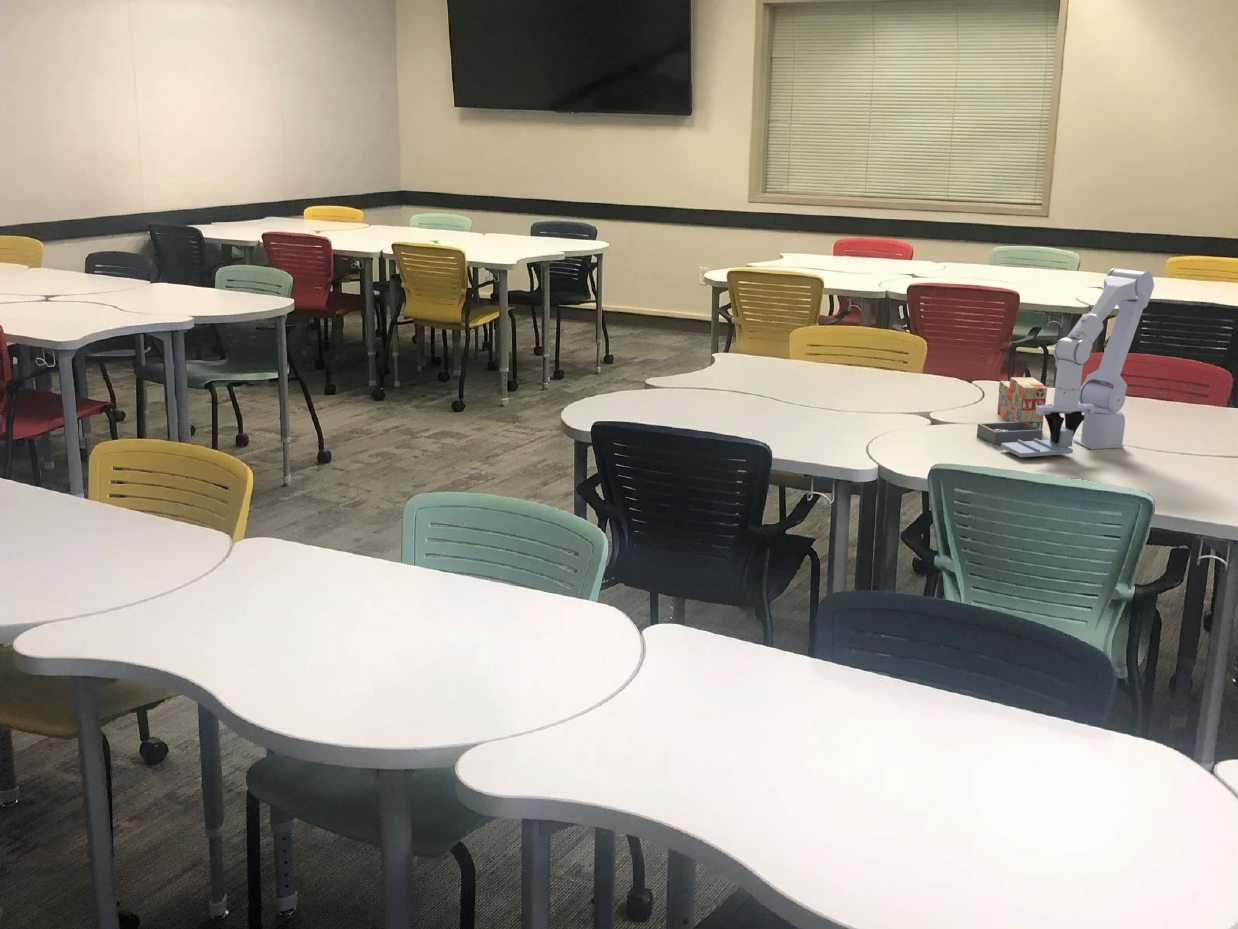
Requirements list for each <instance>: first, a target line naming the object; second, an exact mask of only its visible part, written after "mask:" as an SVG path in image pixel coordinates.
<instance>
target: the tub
mask: <svg viewBox="0 0 1238 929" xmlns="http://www.w3.org/2000/svg"><path fill="white" fill-rule="evenodd" d="M1043 431H1044V430H1043V429H1042V430H1041V429H1039V428H1037V427H1035V426H1033V425H1031V424H1028V423H1026V422H1007V421H1005V422H983V423H977V429H976V438H979V440H982V441H984V442H985V443H988V444H990V445H992V446H994V447H995V446H996V447H997V446H998V447H999V446H1000V447H1001V443H1011V442H1017V440H1021V441H1033V438H1036V439H1038V440H1043Z"/></svg>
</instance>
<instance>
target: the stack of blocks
mask: <svg viewBox="0 0 1238 929" xmlns="http://www.w3.org/2000/svg"><path fill="white" fill-rule="evenodd" d="M998 385H999V387H998V401H997V414H999V416H1000V417H1001V418H1002V419H1003V420H1004V421H1005V422H1026V423H1028V424H1031V425H1033V426H1035V427H1037V428H1039V429H1041V430H1043V427H1044V426H1043V425H1044V418H1045V416H1044V414H1043V415H1038V414H1036V406H1041V405H1047V404H1046V402H1047V393H1048V387H1047V386H1046V385H1044V384H1043V383H1042V382H1041V381H1039V380H1037V379H1036V378H1034V377H1016V376H1015V377H1013V376H1011V377H1010V379H1009V380H1008V381H1007V380H1006V381H1005V380H1000V381H999V384H998Z"/></svg>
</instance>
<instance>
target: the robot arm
mask: <svg viewBox="0 0 1238 929" xmlns="http://www.w3.org/2000/svg"><path fill="white" fill-rule="evenodd" d="M1154 288H1155V282H1154V278H1153V275H1152V273H1151V272H1150V271H1139V270H1132V269H1123V268H1119V267H1113V268H1111V269H1110V270H1109V271H1108V272H1107V273H1106V276H1105V277H1104V280H1103V291H1102V292H1101V295H1100V296H1099V298H1098V299H1097V300H1096V302H1095V304H1094V306H1093V307H1092V309H1091V311H1090V313H1086V314H1083V315H1082V316H1081V317H1080V318H1079V320H1078V321H1077V322H1076V324H1075V326H1074V327H1072V329H1071V331H1070V332H1069V333H1068V335H1067V336H1066V337H1063V338H1060V339H1059V340H1058V341H1057V343H1056V344H1055V347H1054V348H1053V357H1054V359H1055V364H1054V366H1055V368H1057V369H1056V378H1055V385H1054V393H1053V394H1054V395H1053V403H1049V404H1045V405H1041V406H1036V414H1038V415H1043V414H1044V418H1045V420H1046V423H1047V426H1048V429H1049V432H1050V434H1051V442H1053V443H1055V444H1058V441H1059V437H1060V430H1061V426H1063V423H1064V427H1066V428H1069V429H1071V430H1073V442H1074V443H1077V444H1079V445H1080V446H1084V447H1086V448H1087V449H1090V450H1097V449H1099V450H1100V449H1115V448H1116V449H1117V448H1119V449H1120V448H1124V447H1125V445H1124V444H1123V442H1124V435H1125V434H1124V433H1125V429H1126V428H1125V426H1126V425H1125V424H1126V419H1125V414H1124V413H1123V412H1122V411H1121V409H1122V408H1123V407H1124V404H1125V401H1126V392H1127V389H1128V384H1127V383H1126V381H1125V380H1124V378H1123V377H1122V376H1121V373H1122V371H1123V368H1124V365H1125V361H1126V359H1127V356H1128V353H1129V350H1130V348H1131V345H1132V342H1133V339H1134V337H1135V333H1136V330H1137V328H1138V325H1139V321H1140V318H1141V316H1142V314H1143V310H1144V309H1146V308H1148V307H1147V306H1148V305H1149V302H1150V300H1151V297H1152V293H1153V290H1154ZM1116 307H1117V308H1118V313H1117V314H1116V315H1117V316H1116V318H1115V321H1114V323H1113V327H1112V329H1111V332H1110V335H1109V338H1108V341H1107V344H1106V346H1105V349H1104V353H1103V355H1102V358H1101V361H1100V363H1099V366H1098V368H1097V370H1095V371H1093V372H1091V373H1089V374H1087V375H1086V377H1085V380H1084V382H1083V383H1082V379H1083V378H1082V377H1083V369H1084V364H1086V362H1087V361H1088V360H1089V358H1090V355H1091V352H1092V349H1093V344H1094V342H1095V341H1096V339H1097V338H1098V337H1099V335H1100V334H1101V332H1102V331H1103V329H1104V323H1103V322H1104V321H1105V319H1106V318H1107V317H1108V316H1109V315H1110V313H1111V312H1112V311H1113V310H1114V309H1115V308H1116ZM1061 414H1063V415H1064V417H1062V415H1061ZM1081 424H1082V428H1081V436H1080V438H1075V439H1074V436H1075V433H1076V432H1077V430H1078V428H1079V427H1080V425H1081ZM1050 434H1049V435H1050Z"/></svg>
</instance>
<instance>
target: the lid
mask: <svg viewBox="0 0 1238 929" xmlns="http://www.w3.org/2000/svg"><path fill="white" fill-rule="evenodd" d="M1049 435H1050V436H1049V439H1042V440H1038V439H1036V438H1033V441H1021V440H1017V442H1011V443H1001V445H1000V448H1001V449H1003V450H1005V451H1008V452H1010V453H1011V454H1013V455H1016V456H1017V457H1019V458H1029V457H1031V458H1032V457H1040V456H1041V457H1042V456H1043V457H1044V456H1053V455H1054V456H1055V455H1065V454H1066V455H1069V454H1073V452H1074V449H1072V447H1073V442H1074V441H1073V440H1074V437H1073V430H1071V429H1069V428H1066V427H1065V425H1062V426H1061V430H1060V437H1059V441H1058V444H1055V443H1053V442H1051V434H1049Z"/></svg>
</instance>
